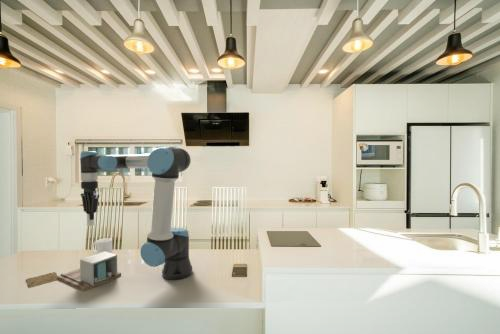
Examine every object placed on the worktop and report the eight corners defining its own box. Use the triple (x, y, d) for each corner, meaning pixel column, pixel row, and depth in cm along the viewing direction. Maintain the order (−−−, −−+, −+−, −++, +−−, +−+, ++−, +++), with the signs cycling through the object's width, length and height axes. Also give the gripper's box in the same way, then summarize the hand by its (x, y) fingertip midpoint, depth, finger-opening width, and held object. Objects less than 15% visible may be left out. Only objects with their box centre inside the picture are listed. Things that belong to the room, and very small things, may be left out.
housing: (117, 275, 132) (117, 254, 131) (92, 285, 121) (92, 263, 121) (105, 270, 137) (104, 251, 136) (80, 280, 126) (80, 259, 126)
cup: (107, 259, 155) (106, 242, 155) (87, 259, 156) (87, 241, 156) (115, 254, 164) (115, 238, 163) (96, 253, 165) (96, 237, 164)
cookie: (28, 289, 122) (28, 286, 122) (25, 280, 130) (25, 278, 130) (60, 280, 130) (60, 278, 130) (55, 273, 139) (55, 271, 139)
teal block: (106, 277, 130) (105, 261, 129) (97, 281, 126) (97, 264, 126) (101, 275, 132) (100, 259, 131) (93, 279, 128) (92, 262, 128)
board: (121, 275, 135) (121, 268, 135) (84, 291, 119) (84, 283, 119) (93, 265, 147) (93, 259, 147) (57, 278, 131) (56, 271, 131)
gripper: (104, 180, 139) (105, 225, 140) (89, 179, 145) (90, 222, 146) (89, 182, 132) (90, 229, 133) (75, 180, 139) (76, 225, 140)
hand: (90, 225), depth 140 cm, fingers closed
